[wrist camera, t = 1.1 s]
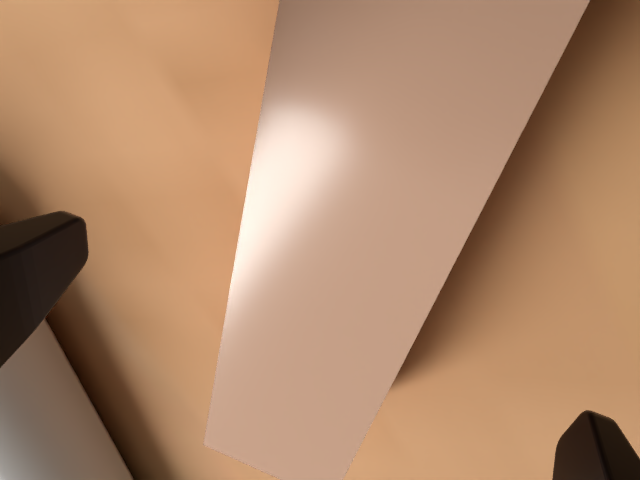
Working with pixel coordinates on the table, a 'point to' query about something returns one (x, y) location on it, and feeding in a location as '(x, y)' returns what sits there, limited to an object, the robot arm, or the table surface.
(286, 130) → the beige long block
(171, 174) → the table surface
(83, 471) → the tube
